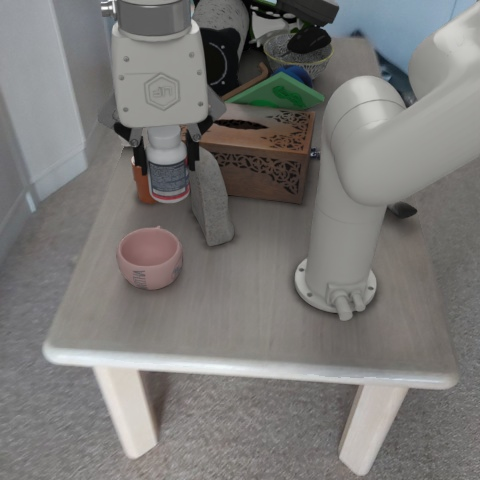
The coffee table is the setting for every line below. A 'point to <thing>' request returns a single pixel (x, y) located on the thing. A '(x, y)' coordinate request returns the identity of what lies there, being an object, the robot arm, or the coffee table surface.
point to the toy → (279, 94)
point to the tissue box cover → (261, 150)
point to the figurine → (270, 28)
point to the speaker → (223, 39)
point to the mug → (150, 258)
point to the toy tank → (272, 17)
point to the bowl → (296, 56)
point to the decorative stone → (210, 200)
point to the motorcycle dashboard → (310, 10)
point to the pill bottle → (167, 164)
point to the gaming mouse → (308, 40)
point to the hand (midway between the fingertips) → (167, 166)
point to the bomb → (296, 74)
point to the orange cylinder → (141, 184)
